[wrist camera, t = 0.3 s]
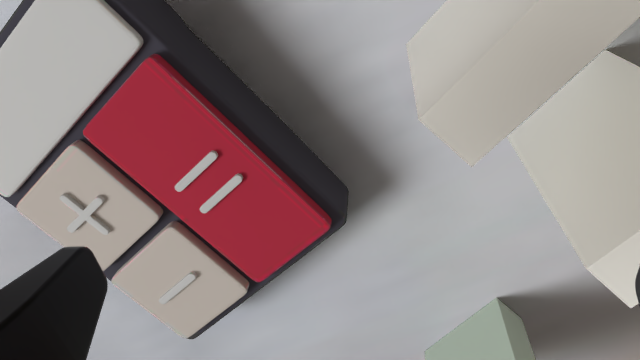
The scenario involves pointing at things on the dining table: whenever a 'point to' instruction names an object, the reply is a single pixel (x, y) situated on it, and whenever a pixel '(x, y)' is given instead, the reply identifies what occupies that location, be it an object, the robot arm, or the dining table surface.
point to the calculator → (154, 158)
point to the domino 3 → (485, 337)
